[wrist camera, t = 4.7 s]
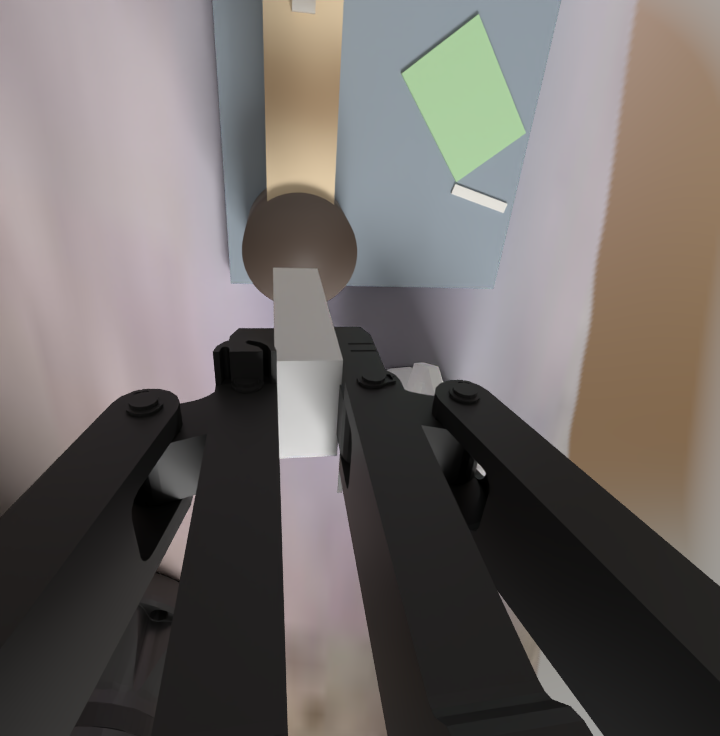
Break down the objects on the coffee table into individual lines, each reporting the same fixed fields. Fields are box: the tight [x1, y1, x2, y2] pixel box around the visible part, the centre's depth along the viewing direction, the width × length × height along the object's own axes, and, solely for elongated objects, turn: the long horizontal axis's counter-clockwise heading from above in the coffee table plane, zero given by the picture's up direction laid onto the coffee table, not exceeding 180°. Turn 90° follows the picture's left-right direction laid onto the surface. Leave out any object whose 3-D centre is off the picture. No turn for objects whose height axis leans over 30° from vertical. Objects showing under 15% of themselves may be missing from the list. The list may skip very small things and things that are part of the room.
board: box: [212, 0, 561, 289], centre depth 22 cm, size 15×16×1 cm
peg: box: [242, 0, 357, 301], centre depth 20 cm, size 14×5×4 cm, turn 175°
